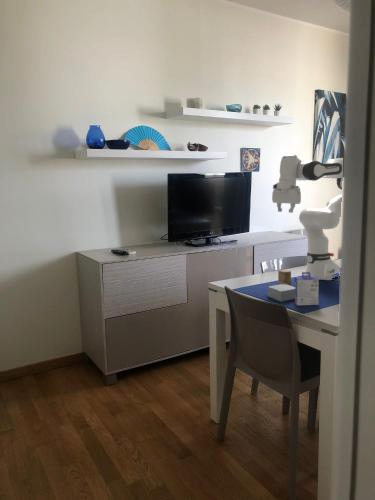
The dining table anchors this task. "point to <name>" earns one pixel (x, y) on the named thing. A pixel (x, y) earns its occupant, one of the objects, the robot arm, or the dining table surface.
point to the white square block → (281, 292)
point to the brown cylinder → (284, 277)
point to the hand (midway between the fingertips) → (285, 212)
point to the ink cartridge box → (306, 290)
